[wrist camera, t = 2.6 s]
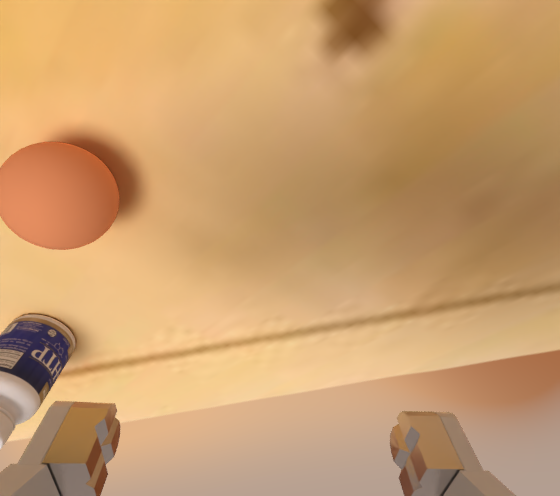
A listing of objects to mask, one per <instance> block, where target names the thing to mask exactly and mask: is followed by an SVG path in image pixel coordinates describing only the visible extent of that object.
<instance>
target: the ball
mask: <svg viewBox="0 0 560 496" xmlns="http://www.w3.org/2000/svg"><path fill="white" fill-rule="evenodd" d="M118 208H119V191H118V187H117V184H116V181H115V179H114V177H113V175H112V173H111V172H110V170H109V169H108V168H107V166H106V165H105V164H104V163H103V162H102V161H101V160H100V159H99V158H97V157H96V156H95V155H93V154H92V153H90V152H88V151H86V150H85V149H82V148H80V147H77V146H75V145H71V144H68V143H61V142H43V143H37V144H33V145H30V146H27V147H25V148H22V149H20V150H19V151H17V152H16V153H14V154H13V155H11V156H10V157H9V158H8V159H7V160H6V161H5V162H4V164H3V165H2V166H1V168H0V216H1V218H2V220H3V221H4V222H5V224H6V225H7V226H8V227H9V228H10V229H11V230H12V231H13V232H14V233H15V234H16V235H18V236H19V237H21V238H22V239H24V240H26V241H28V242H30V243H32V244H34V245H37V246H40V247H44V248H48V249H58V250H66V249H74V248H78V247H82V246H85V245H87V244H90V243H92V242H94V241H95V240H97V239H98V238H100V237H101V236H102V235H103V234H104V233H105V232H106V231H107V230H108V229H109V228H110V227H111V225H112V223H113V222H114V220H115V218H116V215H117V212H118Z"/></svg>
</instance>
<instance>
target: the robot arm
mask: <svg viewBox="0 0 560 496" xmlns="http://www.w3.org/2000/svg"><path fill="white" fill-rule="evenodd" d="M116 412H117V409H116V405H115V403H92V402H72V401H55V402H54V403H53V404H52V405H51V406H50V408H49V409H48V411H47V413H46V414H45V416H44V418H43V420H42V421H41V423H40V425H39V427H38V428H37V430H36V432H35V434H34V435H33V437H32V439H31V441H30V442H29V444H28V446H27V448H26V449H25V451H24V453H23V455H22V456H21V458H20V460H19V462H18V463H17V464H10V465H9V466H8V467H6V468H5V469H4V470H3V471H1V472H0V496H100V495H101V492H102V489H103V487H104V484H105V481H106V478H107V475H108V473H107V469H106V464H107V463H108V462H109V461H110V460H111V459H112V458H113V457H114V455H115V452H116V449H117V446H118V442H119V437H120V422H119V420H118V419H116V418H115V415H116ZM397 420H398V423H399V424H398V425H396V426H395V427H393V429H392V431H391V434H390V447H391V453H392V457H393V460H394V462H395V463H396V464H397V465H398V466H399V467H400V468H401V473H400V476H399V480H400V483H401V486H402V490H403V493H404V496H516V495H515V494H513V493H512V492H511V491H510V490H509V489H508V488H507V487H506V486H505V485H503V484H502V483H501V482H500V481H499V480H498V479H497V478H496V477H495V476H494V475H493V474H491V473H490V472H489V471H483V469H482V467H481V465H480V463H479V461H478V459H477V457H476V455H475V453H474V451H473V449H472V447H471V445H470V443H469V441H468V439H467V437H466V435H465V433H464V431H463V429H462V427H461V426H460V423H459V421H458V420H457V418H456V416H455V415H454V414H453V413H449V412H418V411H416V412H415V411H414V412H413V411H402V412H401V413H399V415H398V417H397Z"/></svg>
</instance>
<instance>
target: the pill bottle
mask: <svg viewBox="0 0 560 496" xmlns="http://www.w3.org/2000/svg"><path fill="white" fill-rule="evenodd" d="M74 349H75V338H74V336H73V334H72V332H71V331H70V330H69V329H68V328H67V327H66V326H65V325H64V324H62V323H61V322H59V321H57V320H56V319H53V318H51V317H48V316H44V315H36V314H30V315H24V316H21V317H18V318H17V319H15V320H14V321H12V322H11V324H10V325H9V326H8V327H7V328H6V329H5V330H4V331H3V332H2V333H1V335H0V449H1V448H2V447H3V445H4V444H5V442H6V441H7V439H8V438H9V436H10V435H11V433H12V431H13V430H14V428H15V425H17V424H20V423H23V422H25V421H27V420H28V419H30V418H31V417H32V416H33V415H34V414H35V413H36V411H37V410H38V409H39V407H40V405H41V404H42V402H43V401H44V399H45V397H46V396H47V394H48V392H49V391H50V389H51V387H52V386H53V384H54V383H55V381H56V379H57V378H58V376H59V374H60V373H61V371H62V369H63V368H64V366H65V365H66V363H67V361H68V360H69V358H70V357H71V355H72V353H73V351H74Z"/></svg>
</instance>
